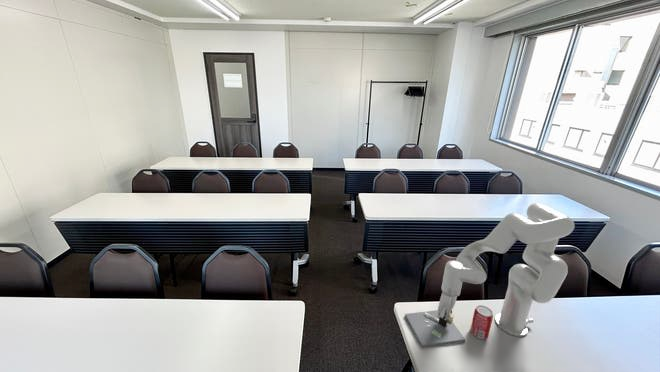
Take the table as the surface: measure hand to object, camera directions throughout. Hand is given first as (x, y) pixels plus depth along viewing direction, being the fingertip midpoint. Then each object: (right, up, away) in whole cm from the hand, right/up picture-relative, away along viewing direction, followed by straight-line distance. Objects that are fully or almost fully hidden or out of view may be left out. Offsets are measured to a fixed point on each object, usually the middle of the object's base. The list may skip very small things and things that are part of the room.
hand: (444, 320), depth 120 cm
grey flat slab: (-5, -4, +1) cm, 6 cm away
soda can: (+15, -5, -2) cm, 16 cm away
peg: (-2, -2, +3) cm, 4 cm away
